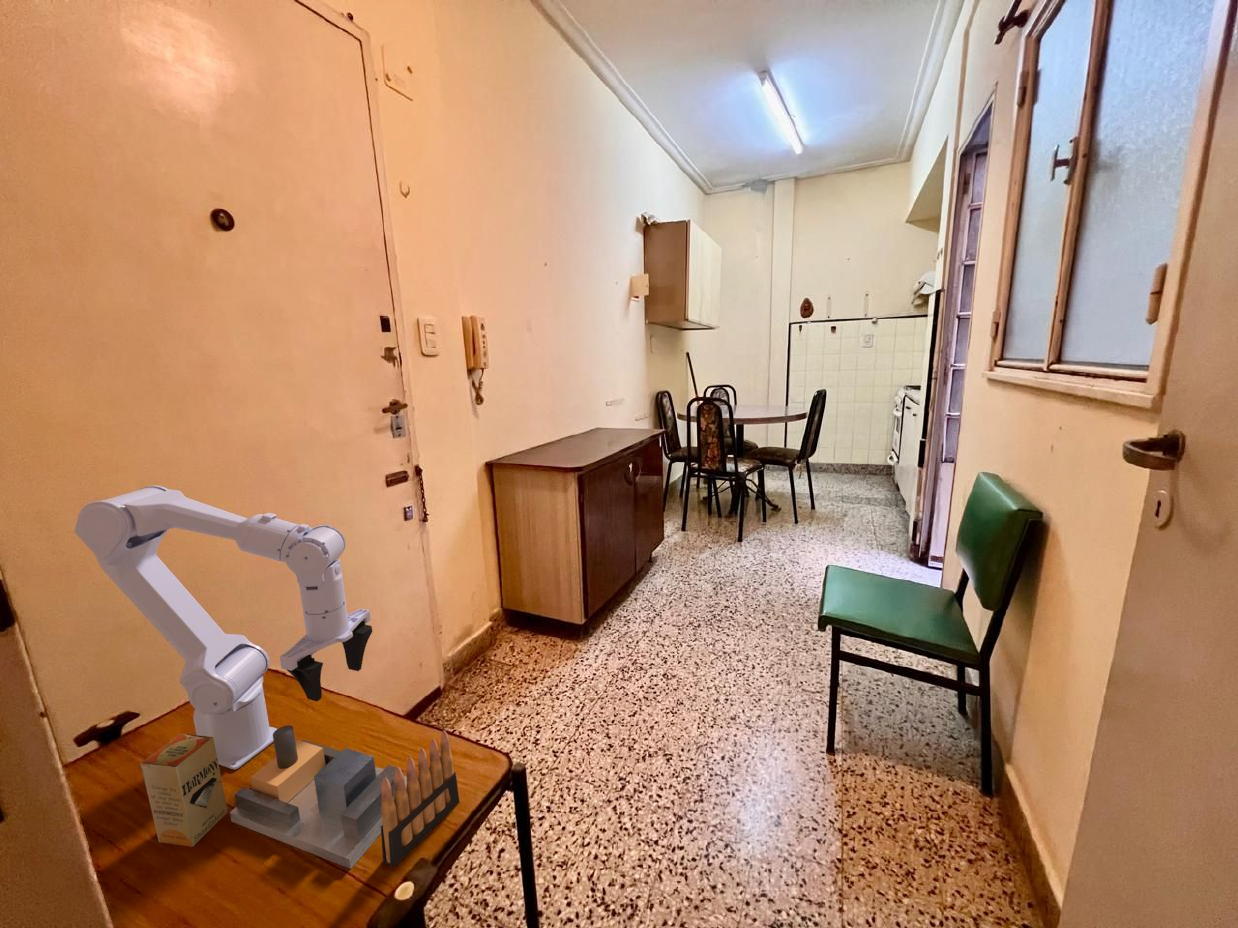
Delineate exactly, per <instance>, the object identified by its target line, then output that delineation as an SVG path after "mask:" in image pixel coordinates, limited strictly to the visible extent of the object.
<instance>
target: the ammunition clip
mask: <svg viewBox="0 0 1238 928" xmlns="http://www.w3.org/2000/svg"><path fill="white" fill-rule="evenodd" d="M439 742H440V743H439V745H440V750H439V747H438V744H437V741H436V740H435V738H432V739H431V741H430V745H429V761H428V757H427V753H426V751H425V749H424V748H423V747H421V748H420V749H419V752H418V758H417V766H418V769H417V766H416V764H415V761H414V759H413V757H411V756H410V757H409V758H408V759H407V762H406V763H407V764H406V773H405V775H404V772H403V773H402V771H401V769H402V768H400V767H399V766H397V768H396V771H395V776H394V787H395V788H394V792H395V794H394V800H393V795H392V789H391V785H390V783H389V781H388V779H387V778H386V777H384V779H383V782H382V787H381V797H382V799H381V800H382V807H381V814H382V823H383V825H381V834H380V836H381V837H380V839H381V852H382V861H383V862H384V863H385V864H387V866H388V867H390V868H395V867H396V866H397V865H398V864H399V863H400V862H401V861H402V860H403V859H404V858H405V857H406V856H407V855H408V854H409V853H410V852H411V851H412V850H413V849H414V848H415V847H416V846H417V845H418V844H419V843H420V842H421V841H422V840H423V839H424V838H425V837H426V836H427V835H428V834H429V833H430V832H431V831H432V830H433V829H434V828H435V827H436V826H437V825H438V824H439V823H440V822H441V821H442V820H443V819H444V818H445V817H446V816H447V815H448V814H449V813H451V811H452V810H453V809H454V808H456V806H457V805H458V804H459V803H460V797H459V795H460V794H459V788H458V781H457V780H458V779H457V773H456V772H455V771H454V761H453V760H454V759H453V755H452V754H453V753H452V752H451V750H452V749H451V745H450V739H449V735H448V733H447V732H446V730H445V729H442V732H441V735H440V741H439ZM417 771H418V772H417ZM403 775H404V776H407V785H406V787H405V781H404V776H403Z"/></svg>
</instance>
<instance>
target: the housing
mask: <svg viewBox="0 0 1238 928" xmlns="http://www.w3.org/2000/svg"><path fill="white" fill-rule="evenodd" d="M341 751H342V752H340V753H339V754H338V755H337V756H336V757H335V758H334V759H333V760H331V761H330V762H329V763H328V764H327V765H326V766H325V767H324V768H322V769H321V770H320V771H319V772H318V773H317V774H316V775H315V776H314V781H315V787H316V794H317V801H318V807H319V814H321V815H324V816H326V817H329V818H332V819H335V820H337V821H340V822H342V820H341V813H342V812H343V811H344V810H345V809H346V808H347V807H348V806H349V805H350V804H351V803H352V802H353V801H354V800H355V799H356V798H357V797H358V796H359V795H360V794H361V793H362V792H363V791H364V790H365V789H366V788H367V786H368V785H369V784H370V783H371V782H372V781H373V780H374V779H375V778H376V771H375V767H376V765H375V763H376V762H375V757H374V756H373V755H370V754H367V753H363V752H360V751H357V750H353V749H350V748H346V747H345V748H343V750H341Z"/></svg>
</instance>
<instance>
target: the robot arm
mask: <svg viewBox="0 0 1238 928" xmlns="http://www.w3.org/2000/svg"><path fill="white" fill-rule="evenodd" d="M171 529H178V530H179V529H181V530H184V531H190V532H193V533H194V532H195V533H199V534H203V535H208V536H213V537H219V538H223V539H227V540H232V541H235V542H236V544H237V547H238V548H239V550H240V551H242V552H245V553H248V554H253V555H256V556H259V557H263V558H267V559H271V560H275V561H279V562H281V563H282V562H283V563H285V565H287V567H288V568H289V569H290V570H291V572H293V573H294V575H295V577H296V579H297V584H298V587H299V592H300V593H299V594H300V599H301V600H300V601H301V607H302V612H303V613H302V614H303V621H304V627H305V635H304V636H303V637H302V638H301V639H299V640H298V641H297V642H296V643H295V644H293V646H292V647H291V648H290V649H288V650H287V651H286V652H285V653H282V655H280V656H279V662H280V668H281V669H284V670H286V671H287V672H289V673H290V675H291V676H292V677H293V678H294V679H295V680H296V681H297V682H298V684H299V685H300V686H301V688H302V690H303V692H304V693H305V696H306V698H307V700H310V701H314V702H319V701H320V700H321V699H322V697H323V696H322V694H323V693H322V692H323V691H322V683H321V676H322V675H321V674H322V670H323V666H324V662H320V661H317V660H315V657H312V656H313V655H314V654H316V653H317V652H319V651H320V650H323V649H325V648H327V647H330V646H333V645H334V644H336V643H341V644H342V647H343V651H344V655H345V660H346V661H345V662H346V665H347V666H346V667H347V669H349V670H352V671H355V672H359V671H360V670H362V666H363V662H364V661H363V660H364V656H365V651H366V647H367V644H368V642H369V639H370V638H371V637H370V636H371V635H372V633H373V627H372V625H369V624H367V623H369V622H371V620H372V619H371V611H370V610H369V609H365V608H359V609H357V610H355V611H353V612H351V613H349V614H348V609H347V608H348V607H347V599H346V590H345V585H344V584H345V583H344V576H343V570H342V561H341V558H339V557H341V556H342V554H343V553H344V551H345V549H346V540H345V539H346V538H345V537H344V534H342V533H341V531H340V530H338V529H337V528H336V527H332V526H331V525H329V524H320V525H317V526H314V527H310V525H309V524H306V523H301V524H298V523H294V522H290V521H288V520H283V519H280V518H277V514H275V513H271V512H267V513H264V514H263V513H257V514H255V515H252V516H250V517H249V518H248V517H244V516H242V515H239V514H236V513H233V512H229V511H227V510H223V509H222V508H218V507H215V506H213V505H210V504H207V503H204V502H201V501H198V500H195V499H192V498H190V497H187V496H185V494H183V492H182V491H181V490H177V489H170V488H167V487H165V486H162V485H157V484H155V485H153V484H152V485H147V486H144V487H142V488H140V489H137V490H135V491H131V492H128V493H124V494H119V495H117V496H114V497H111V498H107V499H102V500H95V501H92V502H89V503H87V504H86V505H84V506H83V507H82V508H81V510H80V511H79V513H78V516H77V520H76V524H75V528H74V534H75V535H76V536H77V537H78V538H79V539H80V540H81V541H82V542H83V544H84V545H86V547H87V548H88V549H89V550H90V551H91V552H92V553H93V555H94V557H95V558H96V560H97V561H96V562H97V563H98V565H99V567H100V568H101V570H102V571H103V572H104V574H105V575H107V576H108V577H109V579H111V581H112V582H113V583H114V584H115V585H116V587H118V589H120V590H121V592H122V593H123V594H124V595H125V596H126V598H128V599H129V601H130V602H132V604H133V605H134V606H135V607H136V608H137V609H138V610H139V611H140V613H142V615H143V616H144V617H145V618H146V619H147V620H148V621H149V622H150V623H151V625H152V626H154V628H155V629H156V631H158V632H159V633H160V634H161V636H162V637H164V639H165V640H166V641H167V642H168V643H169V644H170V645H171V646H172V648H173V649H174V650H175V651H176V652H177V654H179V655H180V656H181V657H182V658H183V659H184V664H183V668H182V671H181V674H180V676H179V677H180V678H179V684H180V685H181V686H182V688H184V690H185V692H186V693H187V697H188V701H189V704H191V706H192V707H193V709H194V711H193V723H194V727H195V733H196V735H199V736H208V737H213V738H214V744H215V749H216V754H217V759H218V764H219V766H222V767H225V768H228V769H231V770H237V769H239V768H240V767H242V766H243V765H244V764H246V763H247V762H249V761H250V760H252V758H254V757H255V756H257V755H258V754H259V753H261V752H262V751H263V750H265V749H266V748H267V747H268V746H270V745H271V744H272V743H274V741H273V733H274V732H275V731H276V730H277V729H278V728H276V727H273V726H270V723H269V716H268V710H267V706H266V699H265V694H264V688H263V683H264V676H263V675H264V674H265V673H266V672H267V670H268V669H269V667H270V656H269V654H268V653H267V651H265V649H263V647H261V646H259V645H257V644H254V643H253V642H251V641H250V640H249V639H248V638H247V637H246V636H245V635H243V634H235V633H232V634H230V633H226V632H224V630H222V628H221V627H220V626H219V625H218V623H217V622H216V621H215V620H214V619H213V618H212V617H211V616H210V615H209V613H208V612H207V611H206V610H205V609H204V607H202V606H201V604H200V603H199V602H198V601H197V600H196V599H195V598H194V596H193V595H192V594H191V593H190V591H189V590H188V589H187V588H186V587H185V586H184V585H183V584H182V582H181V581H180V580H179V579H178V578H177V577H176V576H175V575H174V574H173V572H172V571H171V570H170V569H169V568H168V566H166V565H165V563H164V562H163V561H162V560H161V558H160V557H159V556H158V554H157V553H158V549H159V546H160V543H161V541H162V540H163V538H164V537H165V535H166V534H167V532H169V530H171Z"/></svg>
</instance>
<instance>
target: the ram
mask: <svg viewBox="0 0 1238 928" xmlns="http://www.w3.org/2000/svg"><path fill="white" fill-rule="evenodd" d="M273 741H274V742H273V746H274V751H275V757H274V758H272V759H271V760H270V761H268V762H267V763H266V764H265V765H264V766H262V767H260V769H259V770H257V771H256V772H255V773H253V775H251V776H250V782H251V783H250V784H251V790H253V791H255V792H258V793H261V794H264V795H266V796H269V797H272V798H275V799H277V800H280V801H283V802H286V803H287V802H289V801H290V800H291V799H292V798H293V797H294V796H295V795H296V794H297V793H299V792H300V791H301V790H302V789H303V788H304V787H305V786H306V785H307V784H309V783H310V782H311V781H312V780H313V779H314V776H315V775H316V774H317V773H318V772H319V771H320V770H321V769H322V768H324V767H325V766H326V765H325V758H324V751H323V748H322V747H319V746H316V745H312V744H309V743H306V742H303V741H302V740H300V739H299V740H298V739H297V740H296V736H295V730H294V727H293V725H290V724H288V725H287V724H286V725H283V726H281V727H279V728H277V730H276V731H275V732H274V733H273Z"/></svg>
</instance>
